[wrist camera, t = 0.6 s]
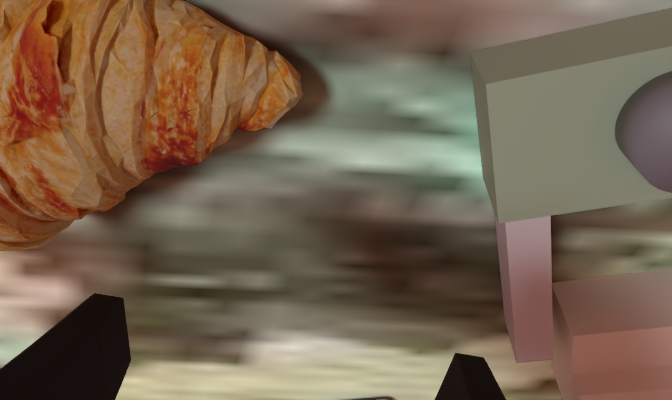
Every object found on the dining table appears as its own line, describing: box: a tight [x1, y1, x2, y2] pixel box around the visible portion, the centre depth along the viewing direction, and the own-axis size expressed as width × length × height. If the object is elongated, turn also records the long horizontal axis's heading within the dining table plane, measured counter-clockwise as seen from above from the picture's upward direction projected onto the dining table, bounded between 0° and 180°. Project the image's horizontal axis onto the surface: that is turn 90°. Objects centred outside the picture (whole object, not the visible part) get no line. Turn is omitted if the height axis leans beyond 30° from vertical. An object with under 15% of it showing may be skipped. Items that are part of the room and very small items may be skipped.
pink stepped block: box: [552, 268, 672, 400], centre depth 21 cm, size 6×5×4 cm
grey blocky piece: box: [470, 8, 672, 363], centre depth 17 cm, size 13×10×5 cm
